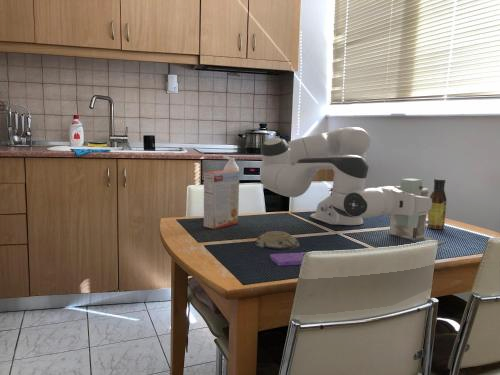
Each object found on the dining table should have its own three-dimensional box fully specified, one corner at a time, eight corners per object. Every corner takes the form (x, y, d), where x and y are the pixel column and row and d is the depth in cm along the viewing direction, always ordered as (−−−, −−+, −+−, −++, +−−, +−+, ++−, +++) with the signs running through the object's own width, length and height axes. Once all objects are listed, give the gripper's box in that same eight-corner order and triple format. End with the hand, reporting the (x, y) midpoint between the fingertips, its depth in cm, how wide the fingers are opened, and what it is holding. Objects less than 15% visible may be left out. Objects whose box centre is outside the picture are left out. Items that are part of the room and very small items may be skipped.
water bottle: (240, 217, 178) (242, 157, 175) (227, 219, 175) (229, 158, 171) (229, 213, 185) (230, 156, 182) (216, 215, 181) (217, 156, 178)
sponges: (319, 264, 123) (319, 258, 123) (278, 267, 119) (278, 261, 119) (308, 257, 130) (309, 251, 129) (269, 259, 126) (269, 253, 126)
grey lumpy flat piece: (245, 242, 144) (273, 253, 132) (245, 231, 143) (274, 241, 131) (279, 237, 152) (309, 247, 140) (280, 226, 152) (309, 236, 140)
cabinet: (385, 235, 158) (389, 186, 156) (399, 231, 165) (404, 185, 162) (432, 246, 145) (437, 194, 142) (446, 242, 151) (451, 191, 149)
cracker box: (227, 221, 171) (228, 169, 168) (238, 223, 167) (240, 170, 164) (202, 226, 160) (203, 171, 157) (213, 229, 157) (215, 173, 154)
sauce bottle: (445, 230, 169) (450, 180, 166) (428, 229, 170) (433, 179, 167) (441, 227, 175) (446, 178, 172) (425, 225, 176) (430, 177, 173)
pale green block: (396, 224, 141) (401, 179, 139) (407, 222, 145) (411, 178, 142) (410, 227, 137) (415, 181, 135) (420, 225, 141) (425, 180, 138)
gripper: (358, 204, 140) (383, 201, 149) (415, 217, 125) (439, 212, 133) (359, 185, 140) (385, 183, 148) (417, 195, 124) (442, 192, 132)
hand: (411, 197), depth 140 cm, fingers closed on pale green block, 4 cm apart
